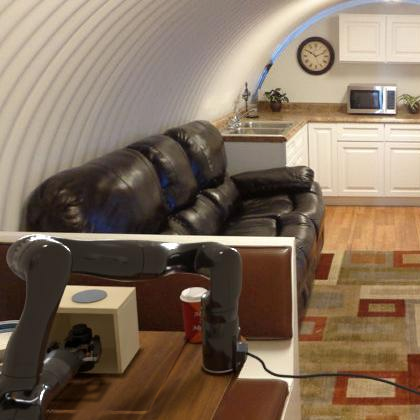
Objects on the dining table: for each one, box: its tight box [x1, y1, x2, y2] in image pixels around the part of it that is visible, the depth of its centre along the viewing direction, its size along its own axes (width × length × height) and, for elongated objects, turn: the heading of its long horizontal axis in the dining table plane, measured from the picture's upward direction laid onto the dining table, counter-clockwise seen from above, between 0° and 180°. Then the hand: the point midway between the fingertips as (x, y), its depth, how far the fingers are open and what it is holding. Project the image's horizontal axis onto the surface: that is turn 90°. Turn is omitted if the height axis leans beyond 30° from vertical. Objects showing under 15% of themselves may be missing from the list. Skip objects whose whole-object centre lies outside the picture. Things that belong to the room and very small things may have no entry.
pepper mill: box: [68, 324, 95, 374], centre depth 154 cm, size 5×5×11 cm
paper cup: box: [179, 286, 208, 344], centre depth 177 cm, size 8×8×14 cm
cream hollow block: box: [48, 285, 141, 374], centre depth 161 cm, size 18×13×19 cm
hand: (85, 338), depth 156 cm, fingers closed on pepper mill, 5 cm apart
